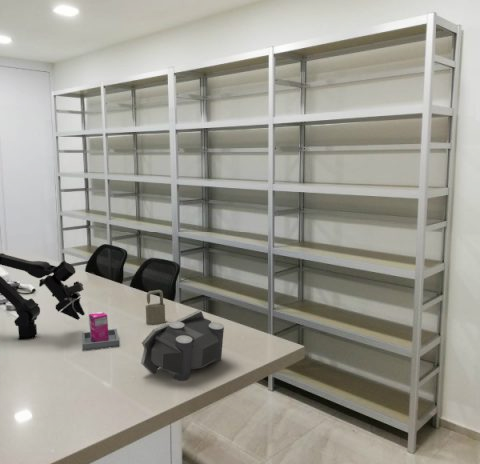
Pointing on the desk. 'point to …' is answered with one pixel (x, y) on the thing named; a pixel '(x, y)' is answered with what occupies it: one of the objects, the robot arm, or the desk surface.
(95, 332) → the supplement box
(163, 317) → the padlock
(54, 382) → the desk surface
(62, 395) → the desk surface
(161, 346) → the electronic device
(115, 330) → the tray
